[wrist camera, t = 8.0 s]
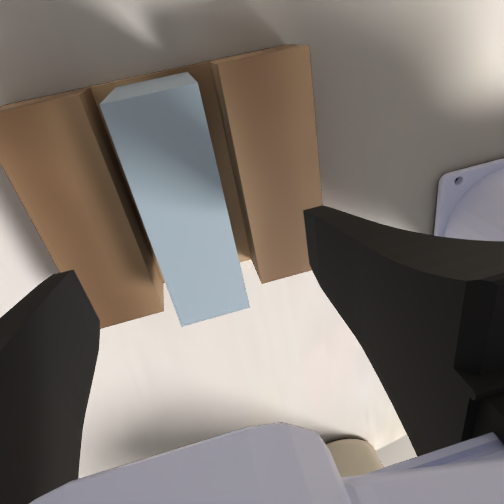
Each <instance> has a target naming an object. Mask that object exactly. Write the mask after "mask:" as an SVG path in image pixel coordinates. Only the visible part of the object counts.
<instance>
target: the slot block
mask: <svg viewBox="0 0 504 504" xmlns="http://www.w3.org/2000/svg"><path fill="white" fill-rule="evenodd" d="M184 72H188V73H189V74H190V75H191V76H192V77H193V78H194V79H195V80H196V82H197V83H198V86H199V90H200V95H201V99H202V103H203V108H204V112H205V116H206V120H207V125H208V129H209V133H210V138H211V142H212V146H213V151H214V155H215V159H216V164H217V168H218V172H219V176H220V181H221V185H222V189H223V194H224V198H225V202H226V207H227V211H228V215H229V219H230V224H231V228H232V232H233V237H234V241H235V245H236V250H237V254H238V258H239V262H242V261H246V260H250V259H251V260H252V262H253V264H254V267H255V269H256V271H257V274H258V276H259V278H260V281H261V283H262V284H263V283H267V282H271V281H274V280H278V279H281V278H285V277H289V276H292V275H296V274H299V273H303V272H307V271H310V270H312V269H311V266H310V264H309V257H308V248H307V240H306V231H305V222H304V214H303V210H306V209H310V208H314V207H318V206H323V205H322V193H321V181H320V169H319V157H318V145H317V133H316V121H315V109H314V97H313V85H312V73H311V61H310V49H309V45H281V46H277V47H272V48H267V49H263V50H258V51H253V52H249V53H244V54H239V55H235V56H230V57H225V58H221V59H216V60H211V61H207V62H202V63H197V64H193V65H188V66H183V67H179V68H174V69H170V70H165V71H160V72H156V73H151V74H146V75H142V76H137V77H132V78H128V79H123V80H118V81H114V82H109V83H104V84H100V85H95V86H90V87H86V88H81V89H76V90H72V91H67V92H63V93H58V94H53V95H49V96H44V97H39V98H35V99H30V100H25V101H21V102H16V103H11V104H7V105H4V106H2V107H0V163H1V165H2V167H3V169H4V171H5V173H6V174H7V176H8V178H9V180H10V182H11V184H12V185H13V187H14V189H15V191H16V193H17V195H18V196H19V198H20V200H21V202H22V204H23V206H24V207H25V209H26V211H27V213H28V215H29V217H30V218H31V220H32V222H33V224H34V226H35V228H36V229H37V231H38V233H39V235H40V237H41V239H42V240H43V242H44V244H45V246H46V248H47V250H48V251H49V253H50V255H51V257H52V259H53V261H54V262H55V264H56V266H57V268H58V270H59V272H60V273H61V272H65V271H69V270H73V269H74V271H75V273H76V275H77V277H78V279H79V281H80V283H81V285H82V287H83V289H84V291H85V293H86V294H87V296H88V298H89V300H90V302H91V304H92V306H93V308H94V310H95V312H96V314H97V316H98V318H99V320H100V329H101V328H105V327H108V326H112V325H116V324H119V323H123V322H126V321H130V320H134V319H137V318H141V317H144V316H148V315H152V314H155V313H159V312H162V311H164V298H163V283H165V280H164V278H163V275H162V272H161V270H160V267H159V264H158V262H157V259H156V256H155V253H154V251H153V248H152V245H151V243H150V240H149V237H148V235H147V232H146V229H145V226H144V224H143V221H142V218H141V216H140V213H139V210H138V208H137V205H136V202H135V200H134V197H133V194H132V191H131V189H130V186H129V183H128V181H127V178H126V175H125V173H124V170H123V167H122V164H121V162H120V159H119V156H118V154H117V151H116V148H115V146H114V143H113V140H112V137H111V135H110V132H109V129H108V127H107V124H106V121H105V119H104V116H103V113H102V110H101V108H100V105H99V104H100V103H101V102H102V101H103V100H104V99H105V98H106V97H107V96H108V95H109V94H110V93H111V92H112V91H113V90H114V89H115V88H116V87H119V86H124V85H128V84H133V83H137V82H142V81H147V80H151V79H156V78H161V77H165V76H170V75H174V74H179V73H184Z"/></svg>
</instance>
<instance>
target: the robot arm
mask: <svg viewBox="0 0 504 504" xmlns="http://www.w3.org/2000/svg"><path fill="white" fill-rule="evenodd" d="M457 177H458V180H457V181H456V182H455V179H456V178H457ZM303 214H304V222H305V231H306V240H307V248H308V257H309V264H310V266H311V269H312V271H313V273H314V275H315V277H316V279H317V281H318V283H319V285H320V287H321V288H322V290H323V291H324V293H325V294H326V296H327V297H328V298H329V300H330V301H331V303H332V304H333V306H334V307H335V308H336V310H337V311H338V313H339V314H340V316H341V317H342V318H343V320H344V321H345V323H346V324H347V325H348V327H349V328H350V330H351V331H352V333H353V334H354V335H355V337H356V338H357V340H358V342H359V343H360V345H361V346H362V348H363V350H364V352H365V353H366V355H367V357H368V359H369V361H370V363H371V364H372V366H373V368H374V370H375V372H376V374H377V375H378V377H379V379H380V381H381V383H382V385H383V387H384V389H385V391H386V393H387V395H388V397H389V399H390V400H391V402H392V404H393V406H394V408H395V411H396V413H397V415H398V417H399V419H400V421H401V423H402V425H403V427H404V429H405V431H406V433H407V435H408V437H409V439H410V441H411V443H412V446H413V448H414V450H415V452H416V454H417V456H418V457H415V458H412V459H409V460H406V461H403V462H400V463H397V464H394V465H391V466H388V467H384V468H381V469H378V470H375V471H372V472H369V473H366V474H363V475H357V476H349V477H341V476H340V474H339V471H338V469H337V467H336V464H335V462H334V459H333V457H332V454H331V452H330V450H329V449H328V447H327V446H326V444H325V443H324V441H323V439H322V438H321V436H320V435H319V433H318V432H315V431H312V430H308V429H305V428H301V427H297V426H294V425H290V424H287V423H283V422H281V423H273V424H266V425H258V426H251V427H245V428H242V429H239V430H236V431H232V432H229V433H226V434H223V435H219V436H216V437H213V438H210V439H206V440H203V441H200V442H197V443H193V444H190V445H187V446H184V447H180V448H177V449H174V450H171V451H167V452H164V453H161V454H158V455H154V456H151V457H148V458H145V459H141V460H138V461H135V462H132V463H128V464H125V465H122V466H119V467H115V468H112V469H109V470H106V471H102V472H99V473H96V474H93V475H89V476H86V477H83V478H80V479H78V473H79V460H80V449H81V439H82V430H83V424H84V417H85V412H86V408H87V403H88V398H89V394H90V389H91V385H92V380H93V375H94V371H95V366H96V361H97V356H98V351H99V338H100V320H99V318H98V316H97V314H96V312H95V310H94V308H93V306H92V304H91V302H90V300H89V298H88V296H87V294H86V293H85V291H84V289H83V287H82V285H81V283H80V281H79V279H78V277H77V275H76V273H75V271H74V269H73V270H69V271H65V272H61V273H58V274H54V275H52V276H50V277H49V278H47V279H46V280H44V281H43V282H42V283H41V284H39V285H38V286H37V287H36V288H35V289H33V290H32V291H31V292H30V293H29V294H28V295H26V296H25V297H24V298H23V299H22V300H21V301H19V302H18V303H17V304H16V305H15V306H14V307H13V308H11V309H10V310H9V311H8V312H7V313H6V314H5V315H3V316H2V317H1V318H0V504H504V158H502V159H499V160H495V161H491V162H487V163H483V164H479V165H476V166H472V167H468V168H464V169H460V170H456V171H453V172H449V173H446V174H444V175H443V176H442V177H441V179H440V181H439V186H438V197H437V208H436V218H435V229H434V236H433V235H427V234H422V233H416V232H411V231H406V230H402V229H398V228H394V227H390V226H386V225H382V224H379V223H376V222H372V221H369V220H366V219H363V218H360V217H357V216H354V215H351V214H348V213H345V212H342V211H339V210H336V209H333V208H330V207H326V206H318V207H314V208H310V209H306V210H303Z"/></svg>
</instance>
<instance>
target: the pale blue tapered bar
mask: <svg viewBox="0 0 504 504" xmlns="http://www.w3.org/2000/svg"><path fill="white" fill-rule="evenodd" d="M99 105H100V108H101V110H102V113H103V116H104V119H105V121H106V124H107V127H108V129H109V132H110V135H111V137H112V140H113V143H114V146H115V148H116V151H117V154H118V156H119V159H120V162H121V164H122V167H123V170H124V173H125V175H126V178H127V181H128V183H129V186H130V189H131V191H132V194H133V197H134V200H135V202H136V205H137V208H138V210H139V213H140V216H141V218H142V221H143V224H144V226H145V229H146V232H147V235H148V237H149V240H150V243H151V245H152V248H153V251H154V253H155V256H156V259H157V262H158V264H159V267H160V270H161V272H162V275H163V278H164V280H165V283H166V286H167V289H168V291H169V294H170V297H171V299H172V302H173V305H174V307H175V310H176V313H177V316H178V318H179V321H180V324H181V326H186V325H190V324H193V323H197V322H200V321H204V320H207V319H211V318H214V317H218V316H221V315H225V314H228V313H232V312H235V311H239V310H243V309H246V308H250V306H249V301H248V297H247V293H246V288H245V284H244V280H243V275H242V271H241V267H240V262H239V258H238V254H237V250H236V245H235V241H234V237H233V232H232V228H231V224H230V219H229V215H228V211H227V207H226V202H225V198H224V194H223V189H222V185H221V181H220V176H219V172H218V168H217V164H216V159H215V155H214V151H213V146H212V142H211V138H210V133H209V129H208V125H207V120H206V116H205V112H204V108H203V103H202V99H201V95H200V90H199V86H198V83H197V82H196V80H195V79H194V78H193V77H192V76H191V75H190V74H189V73H188V72H184V73H179V74H174V75H170V76H165V77H161V78H156V79H151V80H147V81H142V82H137V83H133V84H128V85H124V86H119V87H116V88H115V89H114V90H113V91H112V92H111V93H110V94H109V95H108V96H107V97H106V98H105V99H104V100H103V101H102V102H101V103H100V104H99Z"/></svg>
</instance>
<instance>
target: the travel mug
mask: <svg viewBox="0 0 504 504" xmlns="http://www.w3.org/2000/svg"><path fill="white" fill-rule="evenodd" d="M326 446H327V447H328V449H329V450H330V452H331V454H332V457H333V459H334V462H335V464H336V467H337V469H338V471H339V474H340V476H341V477H349V476H357V475H363V474H366V473H369V472H372V471H375V470H378V469H381V468H384V466H383V464H382V463H381V461H380V459H379V457H378V455H377V453H376V451H375V449H374V448H373V446H372V445H371V444H370V443H368V442H366V441H363V440H359V439H343V440H337V441H334V442H331V443H328V444H326Z"/></svg>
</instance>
